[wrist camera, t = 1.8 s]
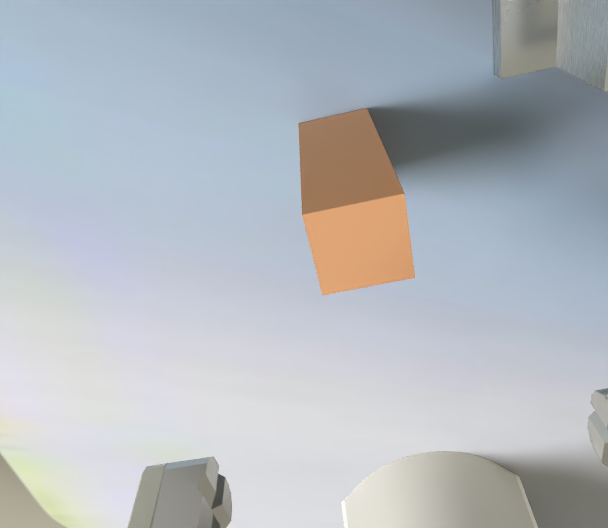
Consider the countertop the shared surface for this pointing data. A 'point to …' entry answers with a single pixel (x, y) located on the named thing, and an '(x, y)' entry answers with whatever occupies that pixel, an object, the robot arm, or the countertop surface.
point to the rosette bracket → (552, 38)
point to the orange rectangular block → (352, 204)
